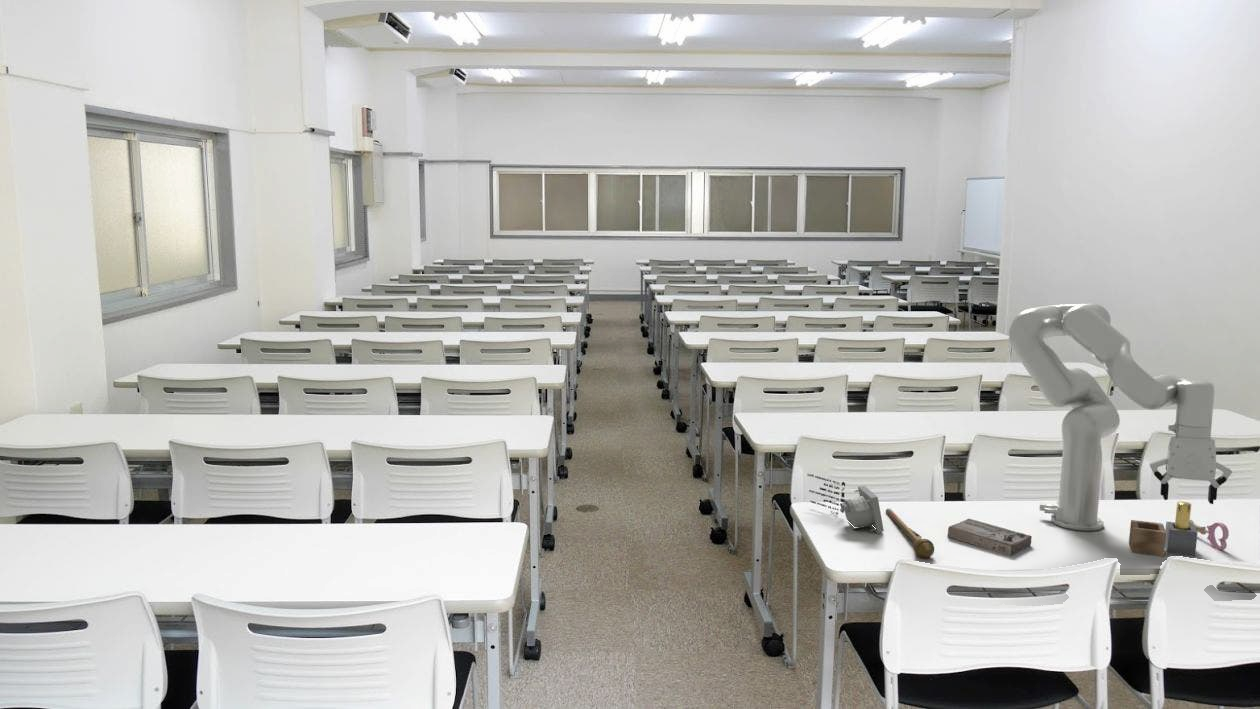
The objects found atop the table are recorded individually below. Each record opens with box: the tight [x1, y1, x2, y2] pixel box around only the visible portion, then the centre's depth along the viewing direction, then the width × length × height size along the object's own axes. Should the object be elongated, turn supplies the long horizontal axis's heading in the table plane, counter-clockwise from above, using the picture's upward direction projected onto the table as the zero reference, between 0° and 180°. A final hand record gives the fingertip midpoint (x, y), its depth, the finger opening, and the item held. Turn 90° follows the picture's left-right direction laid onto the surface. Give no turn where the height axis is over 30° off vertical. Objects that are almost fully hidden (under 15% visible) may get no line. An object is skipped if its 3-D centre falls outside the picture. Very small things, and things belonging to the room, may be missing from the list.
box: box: [947, 518, 1033, 557], centre depth 245 cm, size 11×17×3 cm, turn 42°
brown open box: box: [1128, 519, 1166, 557], centre depth 239 cm, size 7×7×6 cm
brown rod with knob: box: [885, 508, 935, 559], centre depth 248 cm, size 5×35×5 cm
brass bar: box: [1174, 501, 1192, 530], centre depth 238 cm, size 3×3×12 cm
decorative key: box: [1174, 519, 1230, 551], centre depth 248 cm, size 7×1×20 cm
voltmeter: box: [807, 473, 885, 535], centre depth 259 cm, size 27×11×10 cm, turn 42°
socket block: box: [1165, 521, 1199, 557], centre depth 239 cm, size 6×6×6 cm
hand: (1187, 500), depth 237 cm, fingers open, 9 cm apart
